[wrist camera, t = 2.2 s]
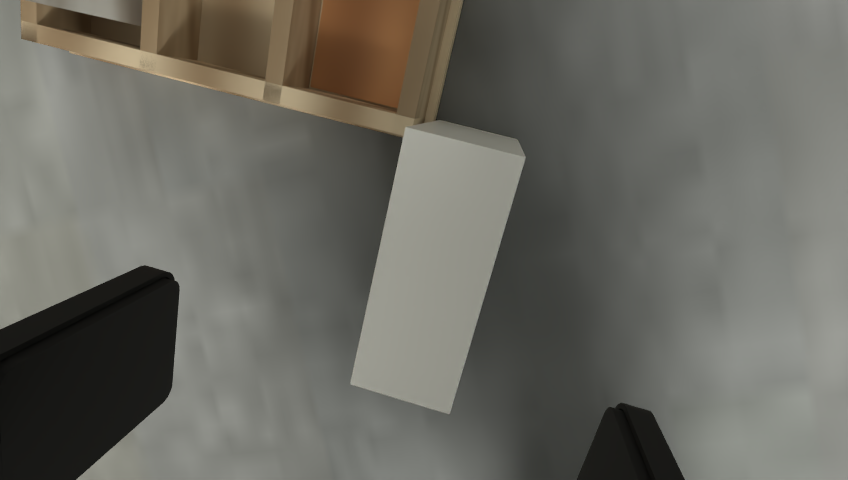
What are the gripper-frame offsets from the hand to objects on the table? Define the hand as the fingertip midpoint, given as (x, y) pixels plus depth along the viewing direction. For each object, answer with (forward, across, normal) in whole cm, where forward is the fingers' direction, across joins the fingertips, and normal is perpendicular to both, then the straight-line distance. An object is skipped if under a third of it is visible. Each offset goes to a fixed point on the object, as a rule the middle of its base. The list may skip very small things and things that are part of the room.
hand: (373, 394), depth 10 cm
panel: (+16, 0, 0) cm, 16 cm away
